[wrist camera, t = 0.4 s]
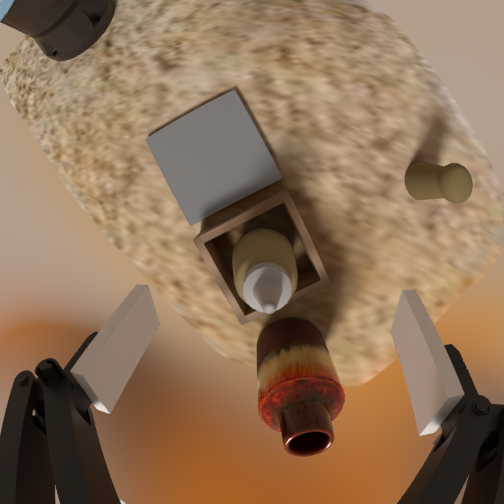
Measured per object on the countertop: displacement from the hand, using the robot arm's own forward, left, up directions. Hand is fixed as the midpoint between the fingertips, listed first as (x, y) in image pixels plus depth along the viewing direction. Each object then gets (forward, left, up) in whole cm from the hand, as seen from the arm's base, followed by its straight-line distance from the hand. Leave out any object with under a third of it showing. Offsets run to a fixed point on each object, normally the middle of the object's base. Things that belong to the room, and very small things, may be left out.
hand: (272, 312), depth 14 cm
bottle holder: (+3, -1, -26) cm, 26 cm away
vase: (+19, -4, -26) cm, 33 cm away
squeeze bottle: (+3, -1, -26) cm, 27 cm away
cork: (+4, +26, -26) cm, 37 cm away
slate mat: (-12, -1, -26) cm, 29 cm away
